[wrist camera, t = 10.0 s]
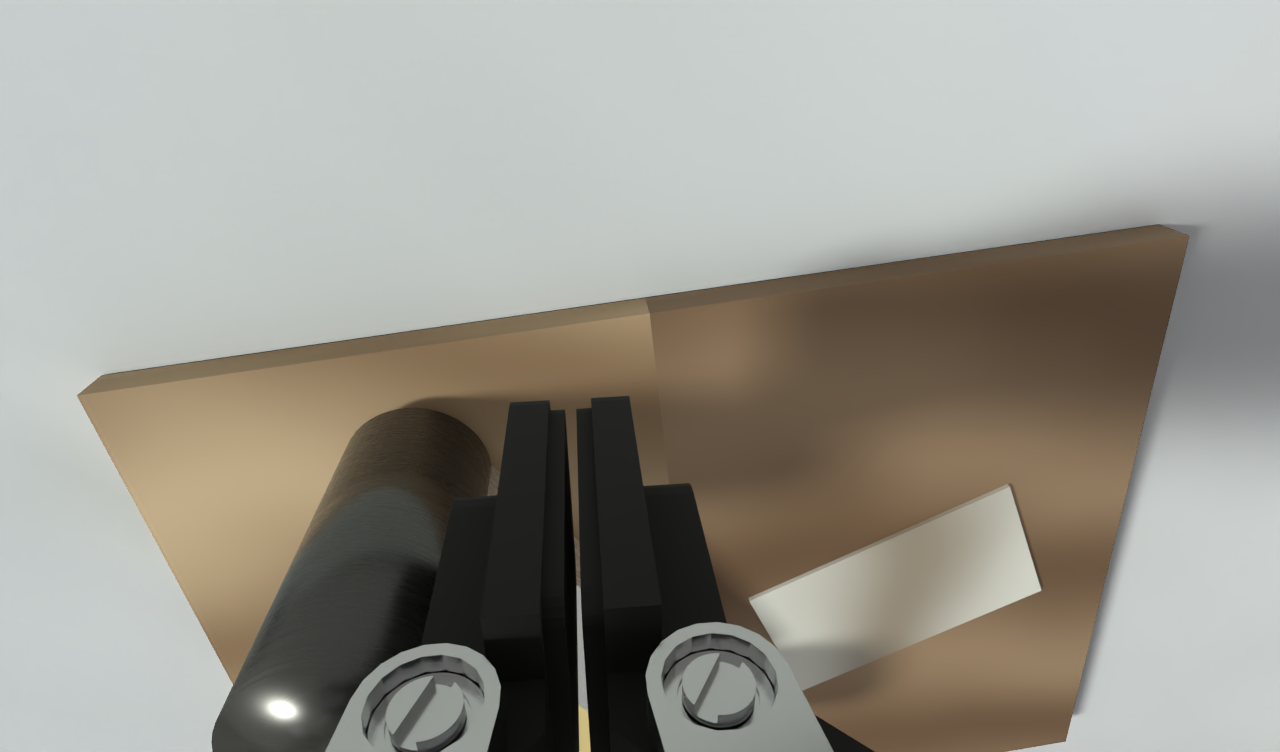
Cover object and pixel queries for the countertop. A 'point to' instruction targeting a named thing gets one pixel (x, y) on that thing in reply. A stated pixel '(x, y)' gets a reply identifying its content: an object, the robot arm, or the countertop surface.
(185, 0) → the countertop surface
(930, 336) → the plate
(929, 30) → the countertop surface
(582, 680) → the swing bar
